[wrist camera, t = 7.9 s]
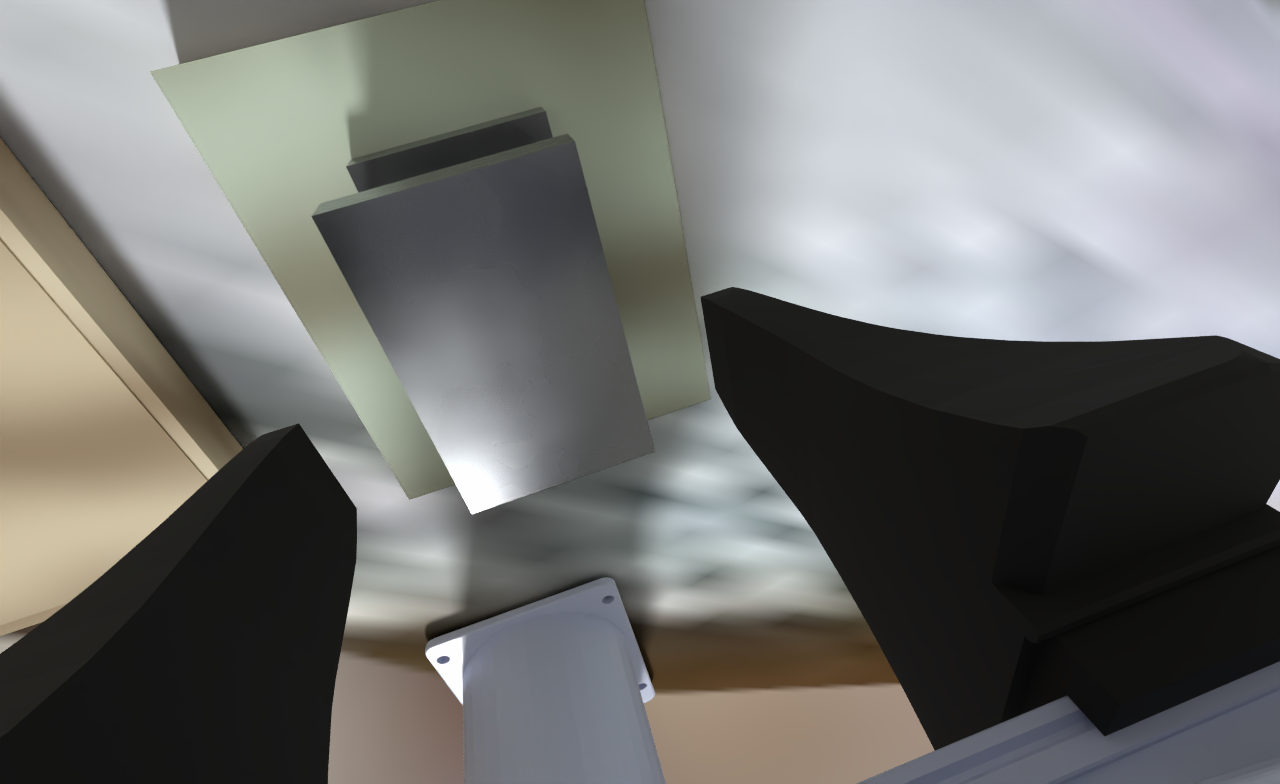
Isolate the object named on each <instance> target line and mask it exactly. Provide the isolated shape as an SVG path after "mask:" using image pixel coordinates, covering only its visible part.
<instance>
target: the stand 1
mask: <svg viewBox="0 0 1280 784" xmlns="http://www.w3.org/2000/svg"><path fill="white" fill-rule="evenodd" d="M242 450H243V448H242V447H241V446H240V444H239V443H238V442H237V440H236V439H235V438H234V437H233V435H232V434H231V433H230V432H229V430H228V429H227V428H226V426H225V425H224V424H223V423H222V421H221V420H220V419H219V417H218V416H217V415H216V414H215V412H214V411H213V410H212V408H211V407H210V406H209V405H208V403H207V402H206V401H205V399H204V398H203V397H202V396H201V394H200V393H199V392H198V390H197V389H196V388H195V387H194V385H193V384H192V383H191V382H190V380H189V379H188V378H187V376H186V375H185V374H184V373H183V371H182V370H181V369H180V367H179V366H178V365H177V364H176V362H175V361H174V360H173V358H172V357H171V356H170V355H169V353H168V352H167V351H166V349H165V348H164V347H163V346H162V344H161V343H160V342H159V340H158V339H157V338H156V337H155V335H154V334H153V333H152V332H151V330H150V329H149V328H148V326H147V325H146V324H145V323H144V321H143V320H142V319H141V317H140V316H139V315H138V314H137V312H136V311H135V310H134V308H133V307H132V306H131V305H130V303H129V302H128V301H127V299H126V298H125V297H124V296H123V294H122V293H121V292H120V291H119V289H118V288H117V287H116V285H115V284H114V283H113V282H112V280H111V279H110V278H109V276H108V275H107V274H106V273H105V271H104V270H103V269H102V267H101V266H100V265H99V264H98V262H97V261H96V260H95V258H94V257H93V256H92V255H91V253H90V252H89V251H88V249H87V248H86V247H85V246H84V244H83V243H82V242H81V241H80V239H79V238H78V237H77V235H76V234H75V233H74V232H73V230H72V229H71V228H70V226H69V225H68V224H67V223H66V221H65V220H64V219H63V217H62V216H61V215H60V214H59V212H58V211H57V210H56V208H55V207H54V206H53V205H52V203H51V202H50V201H49V199H48V198H47V197H46V196H45V194H44V193H43V192H42V191H41V189H40V188H39V187H38V185H37V184H36V183H35V182H34V180H33V179H32V178H31V176H30V175H29V174H28V173H27V171H26V170H25V169H24V167H23V166H22V165H21V164H20V162H19V161H18V160H17V158H16V157H15V156H14V155H13V153H12V152H11V151H10V149H9V148H8V147H7V146H6V144H5V143H4V142H3V141H2V139H1V138H0V636H2V635H5V634H8V633H11V632H14V631H17V630H20V629H23V628H26V627H29V626H32V625H35V624H38V623H41V622H44V621H45V620H47V619H48V618H49V617H50V616H52V615H53V614H54V613H56V612H57V611H58V610H60V609H61V608H62V607H64V606H65V605H66V604H67V603H69V602H70V601H71V600H72V599H74V598H75V597H76V596H77V595H79V594H80V593H81V592H82V591H84V590H85V589H86V588H87V587H89V586H90V585H91V584H92V583H93V582H95V581H96V580H97V579H98V578H99V577H101V576H102V575H103V574H104V573H105V572H107V571H108V570H109V569H110V568H111V567H112V566H113V565H115V564H116V563H117V562H118V561H119V560H120V559H121V558H123V557H124V556H125V555H126V554H127V553H128V552H129V551H131V550H132V549H133V548H134V547H135V546H136V545H137V544H139V543H140V542H141V541H142V540H143V539H144V538H145V537H147V536H148V535H149V534H150V533H151V532H152V531H153V530H155V529H156V528H157V527H158V526H159V525H160V524H161V523H162V522H164V521H165V520H166V519H167V518H168V517H169V516H170V515H171V514H172V513H173V512H174V511H175V510H177V509H178V508H179V507H180V506H181V505H182V504H183V503H184V502H185V501H186V500H187V499H188V498H190V497H191V496H192V495H193V494H194V493H195V492H196V491H197V490H198V489H199V488H200V487H201V486H202V485H204V484H205V483H206V482H207V481H208V480H209V479H210V478H211V477H212V476H213V475H214V474H216V473H217V472H218V471H219V470H220V469H221V468H222V467H223V466H224V465H225V464H227V463H228V462H229V461H230V460H231V459H232V458H233V457H234V456H236V455H237V454H238V453H239V452H240V451H242Z"/></svg>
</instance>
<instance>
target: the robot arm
mask: <svg viewBox="0 0 1280 784" xmlns="http://www.w3.org/2000/svg"><path fill="white" fill-rule="evenodd" d="M701 303H702V309H703V315H704V321H705V328H706V334H707V340H708V346H709V352H710V358H711V365H712V371H713V377H714V383H715V389H716V391H717V393H718V395H719V397H720V398H721V400H722V402H723V404H724V406H725V408H726V410H727V411H728V413H729V415H730V417H731V419H732V420H733V422H734V424H735V426H736V427H737V429H738V430H739V432H740V433H741V434H742V436H743V437H744V439H745V440H746V441H747V443H748V444H749V445H750V447H751V448H752V449H753V451H754V452H755V453H756V455H757V456H758V457H759V459H760V460H761V461H762V462H763V464H764V465H765V466H766V468H767V469H768V470H769V472H770V473H771V474H772V476H773V477H774V478H775V480H776V481H777V482H778V483H779V485H780V486H781V487H782V489H783V490H784V491H785V493H786V494H787V495H788V497H789V498H790V499H791V501H792V502H793V503H794V504H795V506H796V507H797V508H798V510H799V511H800V512H801V514H802V515H803V517H804V518H805V520H806V521H807V523H808V524H809V525H810V527H811V528H812V530H813V531H814V533H815V534H816V536H817V538H818V539H819V541H820V543H821V544H822V546H823V548H824V549H825V551H826V553H827V554H828V556H829V558H830V559H831V561H832V563H833V564H834V566H835V568H836V569H837V571H838V573H839V574H840V576H841V578H842V580H843V581H844V583H845V585H846V587H847V588H848V590H849V592H850V594H851V595H852V597H853V599H854V601H855V602H856V604H857V606H858V608H859V609H860V611H861V613H862V615H863V616H864V618H865V620H866V622H867V623H868V625H869V627H870V629H871V630H872V632H873V634H874V636H875V638H876V640H877V642H878V643H879V645H880V647H881V649H882V651H883V653H884V654H885V656H886V658H887V660H888V662H889V664H890V665H891V667H892V669H893V671H894V673H895V675H896V677H897V678H898V680H899V682H900V684H901V686H902V688H903V689H904V691H905V693H906V695H907V697H908V699H909V701H910V703H911V705H912V707H913V709H914V711H915V713H916V714H917V716H918V718H919V720H920V722H921V724H922V726H923V728H924V730H925V732H926V734H927V736H928V738H929V740H930V742H931V744H932V746H933V748H934V750H935V751H933V752H931V753H928V754H926V755H924V756H921V757H919V758H917V759H914V760H912V761H909V762H907V763H905V764H902V765H900V766H897V767H895V768H893V769H890V770H888V771H885V772H883V773H881V774H879V775H876V776H873V777H871V778H869V779H866V780H864V781H862V782H859V783H857V784H1280V512H1279V511H1277V510H1276V509H1274V508H1272V507H1270V506H1269V505H1267V504H1266V503H1267V501H1268V499H1269V498H1270V496H1271V494H1272V492H1273V490H1274V489H1275V487H1276V485H1277V483H1278V482H1279V480H1280V359H1278V358H1275V357H1273V356H1270V355H1268V354H1266V353H1263V352H1261V351H1258V350H1256V349H1253V348H1251V347H1248V346H1246V345H1244V344H1241V343H1239V342H1236V341H1233V340H1231V339H1228V338H1225V337H1221V336H1200V337H1182V338H1164V339H1146V340H1129V341H1107V342H1036V341H1007V340H993V339H978V338H964V337H954V336H944V335H935V334H929V333H922V332H915V331H908V330H901V329H895V328H889V327H884V326H879V325H874V324H869V323H865V322H861V321H856V320H852V319H847V318H843V317H839V316H835V315H831V314H827V313H824V312H820V311H816V310H813V309H809V308H806V307H802V306H799V305H796V304H792V303H789V302H786V301H782V300H779V299H776V298H773V297H769V296H766V295H763V294H759V293H756V292H752V291H749V290H745V289H741V288H735V287H731V288H727V289H724V290H721V291H718V292H715V293H712V294H708V295H705V296H702V297H701ZM356 550H357V508H356V507H355V505H354V504H353V502H352V501H351V500H350V498H349V497H348V495H347V494H346V492H345V491H344V489H343V488H342V486H341V485H340V483H339V482H338V480H337V479H336V477H335V476H334V475H333V473H332V472H331V470H330V469H329V467H328V466H327V464H326V463H325V461H324V460H323V458H322V457H321V455H320V454H319V452H318V451H317V450H316V448H315V447H314V445H313V444H312V442H311V441H310V439H309V438H308V436H307V435H306V433H305V432H304V430H303V429H302V427H301V426H300V425H299V424H296V425H292V426H289V427H286V428H283V429H280V430H277V431H273V432H270V433H267V434H264V435H262V436H260V437H259V438H257V439H256V440H254V441H253V442H252V443H250V444H249V445H248V446H246V447H245V448H244V449H243V450H242V451H240V452H239V453H238V454H237V455H236V456H234V457H233V458H232V459H231V460H230V461H229V462H228V463H227V464H225V465H224V466H223V467H222V468H221V469H220V470H219V471H218V472H217V473H216V474H214V475H213V476H212V477H211V478H210V479H209V480H208V481H207V482H206V483H205V484H204V485H202V486H201V487H200V488H199V489H198V490H197V491H196V492H195V493H194V494H193V495H192V496H191V497H190V498H188V499H187V500H186V501H185V502H184V503H183V504H182V505H181V506H180V507H179V508H178V509H177V510H175V511H174V512H173V513H172V514H171V515H170V516H169V517H168V518H167V519H166V520H165V521H164V522H162V523H161V524H160V525H159V526H158V527H157V528H156V529H155V530H153V531H152V532H151V533H150V534H149V535H148V536H147V537H145V538H144V539H143V540H142V541H141V542H140V543H139V544H137V545H136V546H135V547H134V548H133V549H132V550H131V551H129V552H128V553H127V554H126V555H125V556H124V557H123V558H121V559H120V560H119V561H118V562H117V563H116V564H115V565H113V566H112V567H111V568H110V569H109V570H108V571H107V572H105V573H104V574H103V575H102V576H101V577H99V578H98V579H97V580H96V581H95V582H93V583H92V584H91V585H90V586H89V587H87V588H86V589H85V590H84V591H82V592H81V593H80V594H79V595H77V596H76V597H75V598H74V599H72V600H71V601H70V602H69V603H67V604H66V605H65V606H64V607H62V608H61V609H60V610H58V611H57V612H56V613H54V614H53V615H52V616H50V617H49V618H48V619H47V620H45V621H44V622H43V623H41V624H40V625H39V626H37V627H36V628H35V629H33V630H32V631H31V632H29V633H28V634H27V635H26V636H24V637H23V638H22V639H20V640H19V641H17V642H16V643H15V644H13V645H12V646H11V647H9V648H8V649H6V650H5V651H4V652H2V653H1V654H0V784H328V763H329V746H330V729H331V728H330V727H331V712H332V703H333V695H334V687H335V679H336V674H337V669H338V663H339V657H340V652H341V646H342V640H343V635H344V629H345V624H346V618H347V612H348V607H349V601H350V595H351V589H352V583H353V577H354V571H355V564H356ZM425 654H426V657H427V658H428V659H429V661H430V662H431V663H432V665H433V666H434V668H435V669H436V670H437V672H438V673H439V674H440V676H441V677H442V678H443V680H444V681H445V682H446V684H447V685H448V686H449V688H450V689H451V690H452V692H453V693H454V694H455V696H456V697H457V698H458V700H459V701H460V703H461V704H462V705H463V732H464V733H463V736H464V738H463V739H464V784H666V782H665V779H664V775H663V772H662V768H661V764H660V761H659V757H658V754H657V750H656V746H655V743H654V739H653V736H652V732H651V728H650V725H649V721H648V718H647V714H646V711H645V707H644V703H645V702H648V701H650V700H651V699H652V698H653V697H654V695H655V691H654V688H653V685H652V682H651V679H650V677H649V674H648V671H647V668H646V666H645V663H644V660H643V657H642V655H641V652H640V649H639V646H638V644H637V641H636V638H635V635H634V633H633V630H632V627H631V624H630V622H629V619H628V616H627V613H626V611H625V608H624V605H623V602H622V600H621V597H620V594H619V591H618V589H617V586H616V583H615V581H614V580H613V579H611V578H606V577H605V578H600V579H598V580H595V581H592V582H589V583H586V584H584V585H581V586H578V587H575V588H573V589H570V590H567V591H564V592H561V593H559V594H556V595H553V596H550V597H547V598H545V599H542V600H539V601H536V602H534V603H531V604H528V605H525V606H522V607H520V608H517V609H514V610H511V611H509V612H506V613H503V614H500V615H497V616H495V617H492V618H489V619H486V620H483V621H481V622H478V623H475V624H472V625H470V626H467V627H464V628H461V629H458V630H456V631H453V632H450V633H447V634H445V635H442V636H439V637H436V638H434V639H432V640H430V641H429V642H428V643H427V644H426V648H425Z"/></svg>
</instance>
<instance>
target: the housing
mask: <svg viewBox="0 0 1280 784" xmlns="http://www.w3.org/2000/svg"><path fill="white" fill-rule="evenodd" d="M346 168H347V170H348V172H349V174H350V176H351V178H352V180H353V182H354V184H355V186H356V189H357V191H358V193H355V194H351V195H348V196H344V197H341V198H337V199H334V200H330V201H327V202H323V203H320V205H319V206H318V207H317V209H316V210H315V212H314V213H313V215H312V216H311V217H312V218H313V220H314V222H315V224H316V226H317V228H318V230H319V231H320V233H321V235H322V237H323V239H324V241H325V243H326V244H327V246H328V248H329V250H330V252H331V254H332V256H333V257H334V259H335V261H336V263H337V265H338V267H339V269H340V270H341V272H342V274H343V276H344V278H345V280H346V282H347V283H348V285H349V287H350V289H351V291H352V293H353V295H354V296H355V298H356V300H357V302H358V304H359V306H360V308H361V309H362V311H363V313H364V315H365V317H366V319H367V321H368V322H369V324H370V326H371V328H372V330H373V332H374V334H375V335H376V337H377V339H378V341H379V343H380V345H381V347H382V348H383V350H384V352H385V354H386V356H387V358H388V360H389V361H390V363H391V365H392V367H393V369H394V371H395V373H396V374H397V376H398V378H399V380H400V382H401V384H402V386H403V387H404V389H405V391H406V393H407V395H408V397H409V399H410V400H411V402H412V404H413V406H414V408H415V410H416V412H417V413H418V415H419V417H420V419H421V421H422V423H423V425H424V427H425V428H426V430H427V432H428V434H429V436H430V438H431V440H432V441H433V443H434V445H435V447H436V449H437V451H438V453H439V454H440V456H441V458H442V460H443V462H444V464H445V466H446V467H447V469H448V471H449V473H450V475H451V477H452V479H453V480H454V482H455V484H456V486H457V488H458V490H459V492H460V493H461V495H462V497H463V499H464V501H465V503H466V505H467V506H468V508H469V510H470V512H471V514H474V513H477V512H480V511H483V510H486V509H489V508H492V507H495V506H498V505H501V504H504V503H506V502H509V501H512V500H515V499H518V498H521V497H524V496H527V495H530V494H533V493H536V492H538V491H541V490H544V489H547V488H550V487H553V486H556V485H559V484H562V483H565V482H568V481H570V480H573V479H576V478H579V477H582V476H585V475H588V474H591V473H594V472H597V471H600V470H602V469H605V468H608V467H611V466H614V465H617V464H620V463H623V462H626V461H629V460H632V459H634V458H637V457H640V456H643V455H646V454H649V453H652V452H655V450H654V446H653V442H652V439H651V435H650V431H649V427H648V423H647V419H646V415H645V411H644V407H643V404H642V400H641V396H640V392H639V388H638V384H637V380H636V376H635V372H634V369H633V365H632V361H631V357H630V353H629V349H628V345H627V341H626V337H625V334H624V330H623V326H622V322H621V318H620V314H619V310H618V306H617V302H616V299H615V295H614V291H613V287H612V283H611V279H610V275H609V271H608V267H607V264H606V260H605V256H604V252H603V248H602V244H601V240H600V236H599V232H598V229H597V225H596V221H595V217H594V213H593V209H592V205H591V201H590V197H589V194H588V190H587V186H586V182H585V178H584V174H583V170H582V166H581V162H580V159H579V155H578V151H577V147H576V143H575V141H574V140H573V139H572V138H571V137H570V136H569V135H568V134H564V135H560V136H557V137H553V136H552V132H551V129H550V125H549V121H548V118H547V114H546V111H545V110H544V109H543V108H542V107H538V108H534V109H530V110H527V111H523V112H520V113H516V114H512V115H509V116H505V117H501V118H498V119H494V120H491V121H487V122H483V123H480V124H476V125H473V126H469V127H465V128H462V129H458V130H454V131H451V132H447V133H444V134H440V135H436V136H433V137H429V138H426V139H422V140H418V141H415V142H411V143H407V144H404V145H400V146H397V147H393V148H389V149H386V150H382V151H379V152H375V153H371V154H368V155H364V156H361V157H357V158H353V159H351V160H350V161H349V163H348V164H347V166H346Z"/></svg>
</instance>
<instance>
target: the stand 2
mask: <svg viewBox="0 0 1280 784" xmlns="http://www.w3.org/2000/svg"><path fill="white" fill-rule="evenodd" d="M151 74H152V76H153V77H154V79H155V81H156V82H157V84H158V86H159V87H160V89H161V90H162V92H163V94H164V95H165V97H166V99H167V100H168V102H169V104H170V105H171V107H172V109H173V110H174V112H175V114H176V115H177V117H178V119H179V120H180V122H181V124H182V125H183V127H184V128H185V130H186V132H187V133H188V135H189V137H190V138H191V140H192V142H193V143H194V145H195V147H196V148H197V150H198V152H199V153H200V155H201V157H202V158H203V160H204V161H205V163H206V165H207V166H208V168H209V170H210V171H211V173H212V175H213V176H214V178H215V180H216V181H217V183H218V185H219V186H220V188H221V190H222V191H223V193H224V195H225V196H226V198H227V199H228V201H229V203H230V204H231V206H232V208H233V209H234V211H235V213H236V214H237V216H238V218H239V219H240V221H241V223H242V224H243V226H244V228H245V229H246V231H247V233H248V234H249V236H250V237H251V239H252V241H253V242H254V244H255V246H256V247H257V249H258V251H259V252H260V254H261V256H262V257H263V259H264V261H265V262H266V264H267V266H268V267H269V269H270V270H271V272H272V274H273V275H274V277H275V279H276V280H277V282H278V284H279V285H280V287H281V289H282V290H283V292H284V294H285V295H286V297H287V299H288V300H289V302H290V304H291V305H292V307H293V308H294V310H295V312H296V313H297V315H298V317H299V318H300V320H301V322H302V323H303V325H304V327H305V328H306V330H307V332H308V333H309V335H310V337H311V338H312V340H313V341H314V343H315V345H316V346H317V348H318V350H319V351H320V353H321V355H322V356H323V358H324V360H325V361H326V363H327V365H328V366H329V368H330V370H331V371H332V373H333V375H334V376H335V378H336V379H337V381H338V383H339V384H340V386H341V388H342V389H343V391H344V393H345V394H346V396H347V398H348V399H349V401H350V403H351V404H352V406H353V408H354V409H355V411H356V412H357V414H358V416H359V417H360V419H361V421H362V422H363V424H364V426H365V427H366V429H367V431H368V432H369V434H370V436H371V437H372V439H373V441H374V442H375V444H376V446H377V447H378V449H379V450H380V452H381V454H382V455H383V457H384V459H385V460H386V462H387V464H388V465H389V467H390V469H391V470H392V472H393V474H394V475H395V477H396V479H397V480H398V482H399V483H400V485H401V487H402V488H403V490H404V492H405V493H406V495H407V497H408V498H409V500H410V499H413V498H416V497H419V496H422V495H425V494H428V493H431V492H434V491H437V490H440V489H443V488H446V487H449V486H452V485H455V482H454V480H453V479H452V477H451V475H450V473H449V471H448V469H447V467H446V466H445V464H444V462H443V460H442V458H441V456H440V454H439V453H438V451H437V449H436V447H435V445H434V443H433V441H432V440H431V438H430V436H429V434H428V432H427V430H426V428H425V427H424V425H423V423H422V421H421V419H420V417H419V415H418V413H417V412H416V410H415V408H414V406H413V404H412V402H411V400H410V399H409V397H408V395H407V393H406V391H405V389H404V387H403V386H402V384H401V382H400V380H399V378H398V376H397V374H396V373H395V371H394V369H393V367H392V365H391V363H390V361H389V360H388V358H387V356H386V354H385V352H384V350H383V348H382V347H381V345H380V343H379V341H378V339H377V337H376V335H375V334H374V332H373V330H372V328H371V326H370V324H369V322H368V321H367V319H366V317H365V315H364V313H363V311H362V309H361V308H360V306H359V304H358V302H357V300H356V298H355V296H354V295H353V293H352V291H351V289H350V287H349V285H348V283H347V282H346V280H345V278H344V276H343V274H342V272H341V270H340V269H339V267H338V265H337V263H336V261H335V259H334V257H333V256H332V254H331V252H330V250H329V248H328V246H327V244H326V243H325V241H324V239H323V237H322V235H321V233H320V231H319V230H318V228H317V226H316V224H315V222H314V220H313V218H312V217H311V216H312V215H313V213H314V212H315V210H316V209H317V207H318V206H319V205H320V203H323V202H327V201H330V200H334V199H337V198H341V197H344V196H348V195H351V194H355V193H358V191H357V189H356V186H355V184H354V182H353V180H352V178H351V176H350V174H349V172H348V170H347V168H346V166H347V164H348V163H349V161H350V160H351V159H353V158H357V157H361V156H364V155H368V154H371V153H375V152H379V151H382V150H386V149H389V148H393V147H397V146H400V145H404V144H407V143H411V142H415V141H418V140H422V139H426V138H429V137H433V136H436V135H440V134H444V133H447V132H451V131H454V130H458V129H462V128H465V127H469V126H473V125H476V124H480V123H483V122H487V121H491V120H494V119H498V118H501V117H505V116H509V115H512V114H516V113H520V112H523V111H527V110H530V109H534V108H538V107H542V108H543V109H544V110H545V111H546V114H547V118H548V121H549V125H550V129H551V132H552V136H553V137H557V136H560V135H564V134H568V135H569V136H570V137H571V138H572V139H573V140H574V141H575V143H576V147H577V151H578V155H579V159H580V162H581V166H582V170H583V174H584V178H585V182H586V186H587V190H588V194H589V197H590V201H591V205H592V209H593V213H594V217H595V221H596V225H597V229H598V232H599V236H600V240H601V244H602V248H603V252H604V256H605V260H606V264H607V267H608V271H609V275H610V279H611V283H612V287H613V291H614V295H615V299H616V302H617V306H618V310H619V314H620V318H621V322H622V326H623V330H624V334H625V337H626V341H627V345H628V349H629V353H630V357H631V361H632V365H633V369H634V372H635V376H636V380H637V384H638V388H639V392H640V396H641V400H642V404H643V407H644V411H645V415H646V419H647V420H650V419H653V418H656V417H659V416H662V415H665V414H668V413H671V412H674V411H677V410H680V409H683V408H686V407H689V406H692V405H695V404H698V403H701V402H704V401H707V400H710V399H711V397H710V391H709V386H708V380H707V374H706V368H705V362H704V356H703V350H702V344H701V338H700V332H699V326H698V320H697V314H696V308H695V302H694V296H693V290H692V284H691V278H690V272H689V266H688V260H687V254H686V248H685V242H684V236H683V230H682V224H681V218H680V212H679V206H678V200H677V194H676V188H675V182H674V176H673V170H672V164H671V158H670V152H669V146H668V140H667V134H666V128H665V122H664V116H663V110H662V104H661V98H660V92H659V86H658V80H657V74H656V68H655V62H654V56H653V50H652V44H651V38H650V32H649V26H648V20H647V14H646V8H645V2H644V0H438V1H433V2H429V3H425V4H421V5H417V6H413V7H409V8H405V9H401V10H397V11H393V12H389V13H385V14H381V15H377V16H373V17H369V18H365V19H361V20H357V21H353V22H349V23H345V24H340V25H336V26H332V27H328V28H324V29H320V30H316V31H312V32H308V33H304V34H300V35H296V36H292V37H288V38H284V39H280V40H276V41H272V42H268V43H264V44H260V45H256V46H252V47H248V48H243V49H239V50H235V51H231V52H227V53H223V54H219V55H215V56H211V57H207V58H203V59H199V60H195V61H191V62H187V63H183V64H179V65H175V66H171V67H167V68H163V69H159V70H155V71H151Z"/></svg>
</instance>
